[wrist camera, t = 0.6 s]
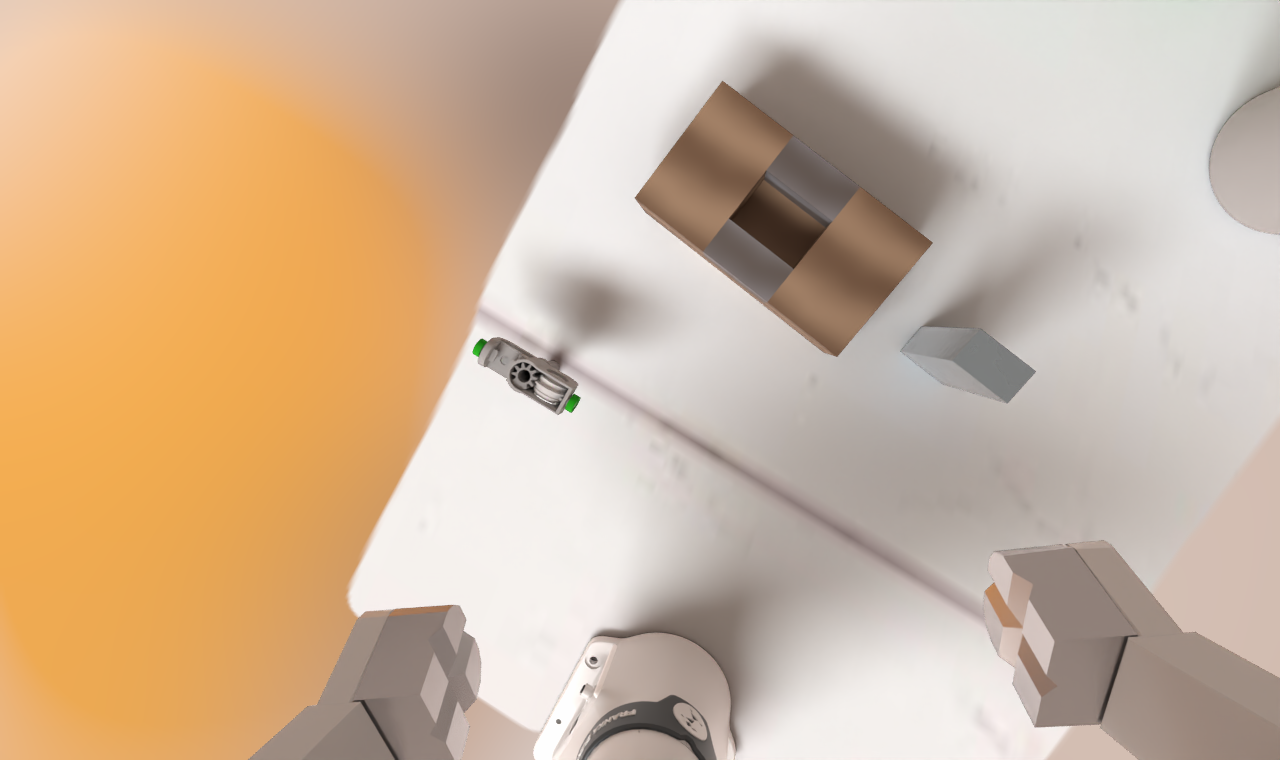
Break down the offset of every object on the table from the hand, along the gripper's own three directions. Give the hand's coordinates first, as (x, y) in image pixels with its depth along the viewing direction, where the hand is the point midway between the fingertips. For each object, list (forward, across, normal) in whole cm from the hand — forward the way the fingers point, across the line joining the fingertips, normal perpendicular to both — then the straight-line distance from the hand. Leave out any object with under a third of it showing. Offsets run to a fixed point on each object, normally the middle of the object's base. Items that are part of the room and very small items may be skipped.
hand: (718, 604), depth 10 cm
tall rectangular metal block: (+49, +22, -26) cm, 60 cm away
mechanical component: (+52, -15, -24) cm, 59 cm away
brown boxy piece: (+56, +8, -14) cm, 58 cm away
